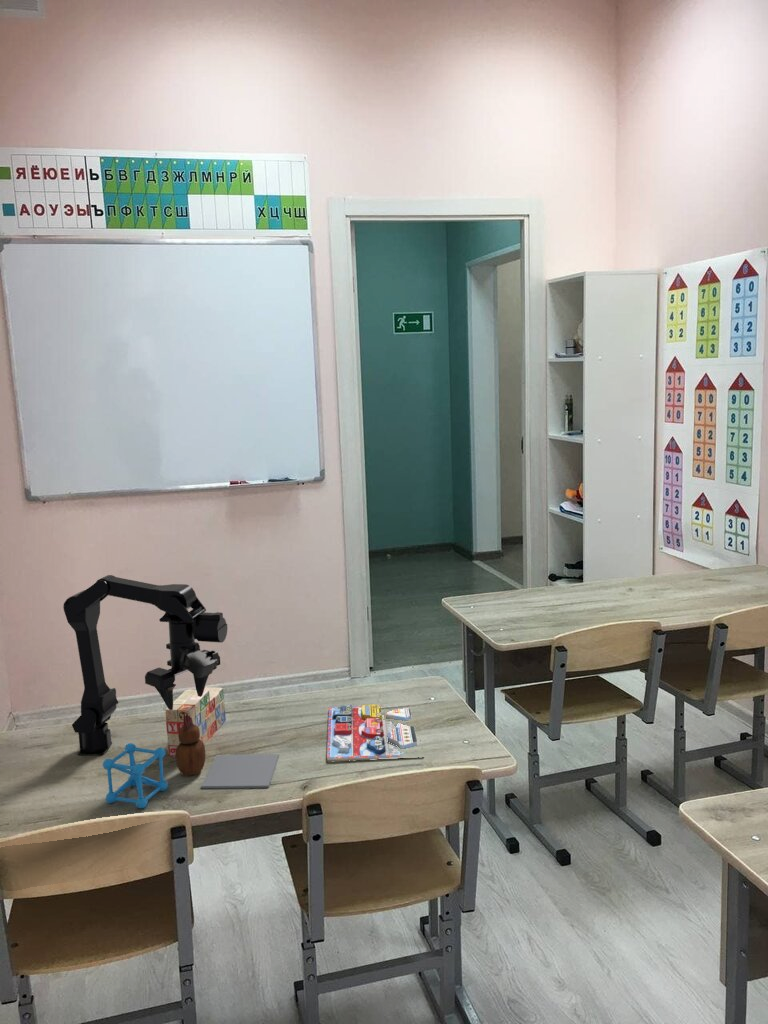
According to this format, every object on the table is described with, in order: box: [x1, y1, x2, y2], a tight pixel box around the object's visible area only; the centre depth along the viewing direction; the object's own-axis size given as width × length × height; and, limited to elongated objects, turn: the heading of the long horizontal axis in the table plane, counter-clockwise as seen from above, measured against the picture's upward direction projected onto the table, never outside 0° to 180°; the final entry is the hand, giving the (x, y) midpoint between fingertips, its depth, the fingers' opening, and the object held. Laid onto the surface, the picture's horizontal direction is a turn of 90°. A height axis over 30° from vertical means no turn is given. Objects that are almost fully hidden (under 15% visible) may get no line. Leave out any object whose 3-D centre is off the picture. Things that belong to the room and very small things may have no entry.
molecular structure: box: [102, 742, 169, 809], centre depth 181 cm, size 10×10×10 cm
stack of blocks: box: [165, 686, 227, 757], centre depth 209 cm, size 21×6×12 cm, turn 169°
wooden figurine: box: [175, 713, 206, 777], centre depth 190 cm, size 7×6×15 cm
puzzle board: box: [326, 703, 418, 763], centre depth 210 cm, size 30×23×3 cm
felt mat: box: [200, 753, 280, 789], centre depth 191 cm, size 15×15×1 cm
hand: (185, 702), depth 197 cm, fingers open, 9 cm apart
